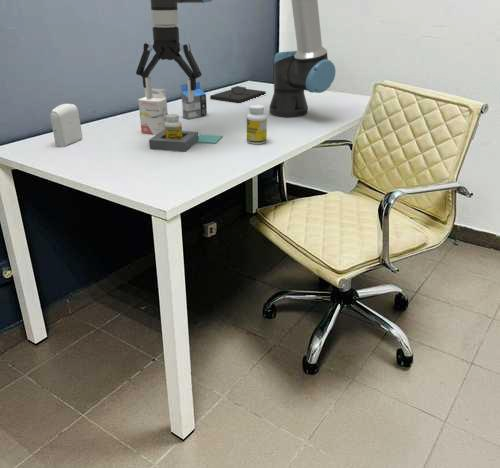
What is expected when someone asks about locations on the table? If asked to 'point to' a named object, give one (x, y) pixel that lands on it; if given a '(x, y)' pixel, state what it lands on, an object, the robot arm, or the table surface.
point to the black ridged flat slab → (237, 95)
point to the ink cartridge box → (153, 112)
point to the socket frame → (173, 141)
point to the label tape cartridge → (193, 102)
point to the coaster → (208, 139)
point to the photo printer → (65, 124)
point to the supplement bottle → (173, 127)
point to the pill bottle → (256, 125)
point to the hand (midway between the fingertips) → (170, 100)
